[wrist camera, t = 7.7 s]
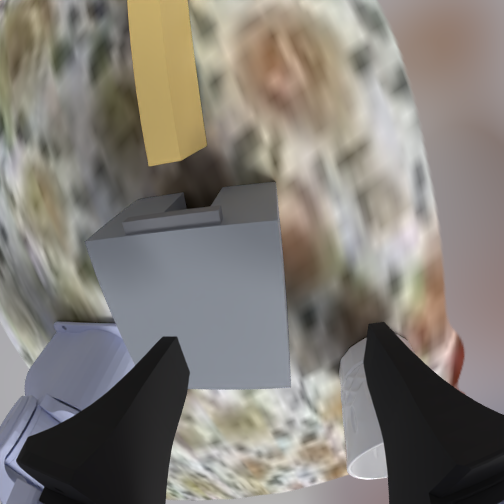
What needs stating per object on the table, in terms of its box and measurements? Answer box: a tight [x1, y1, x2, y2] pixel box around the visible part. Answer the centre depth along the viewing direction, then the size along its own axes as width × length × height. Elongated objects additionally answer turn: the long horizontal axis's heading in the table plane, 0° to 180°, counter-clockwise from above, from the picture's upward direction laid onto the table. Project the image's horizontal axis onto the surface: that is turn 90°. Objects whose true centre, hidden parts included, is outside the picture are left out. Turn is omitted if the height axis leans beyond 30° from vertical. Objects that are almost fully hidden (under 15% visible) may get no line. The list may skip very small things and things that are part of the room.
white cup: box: [339, 334, 415, 479], centre depth 20 cm, size 8×8×10 cm
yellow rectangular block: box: [127, 0, 207, 166], centre depth 13 cm, size 2×10×6 cm, turn 7°
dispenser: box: [85, 182, 291, 389], centre depth 18 cm, size 9×11×7 cm
